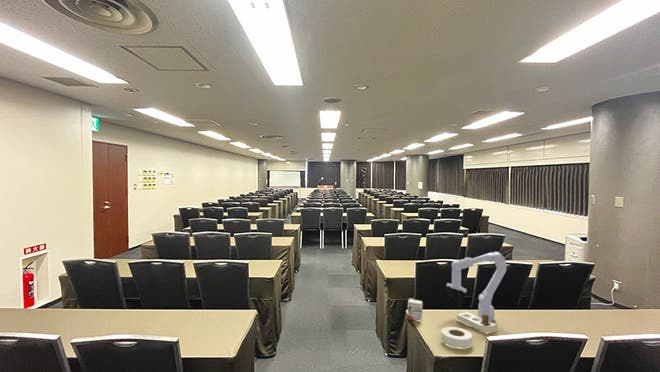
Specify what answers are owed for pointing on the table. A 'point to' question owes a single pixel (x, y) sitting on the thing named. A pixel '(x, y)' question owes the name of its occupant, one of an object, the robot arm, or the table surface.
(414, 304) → the ink box
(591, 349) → the table surface
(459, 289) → the robot arm
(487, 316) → the walnut peg
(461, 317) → the well block
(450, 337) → the roll of tape
